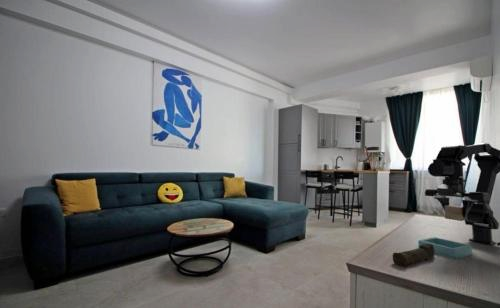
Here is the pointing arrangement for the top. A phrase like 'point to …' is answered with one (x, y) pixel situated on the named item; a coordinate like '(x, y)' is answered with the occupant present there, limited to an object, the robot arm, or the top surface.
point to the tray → (448, 247)
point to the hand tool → (414, 255)
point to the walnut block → (454, 213)
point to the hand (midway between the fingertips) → (455, 216)
